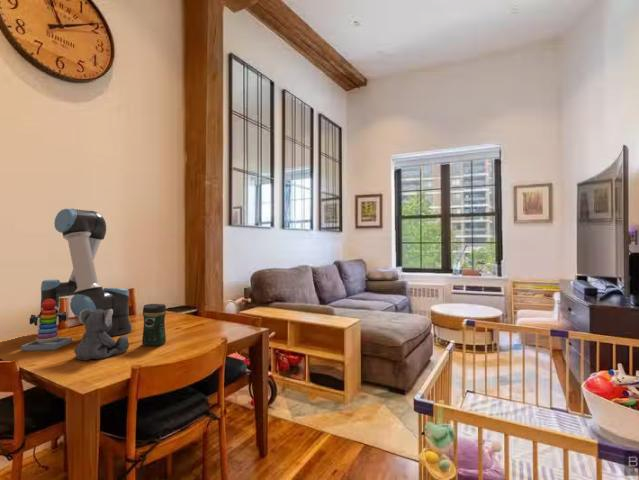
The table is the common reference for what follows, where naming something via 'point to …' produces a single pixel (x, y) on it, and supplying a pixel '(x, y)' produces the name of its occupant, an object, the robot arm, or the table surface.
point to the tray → (46, 345)
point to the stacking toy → (48, 323)
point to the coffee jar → (154, 324)
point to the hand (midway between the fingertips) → (48, 322)
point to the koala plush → (98, 336)
